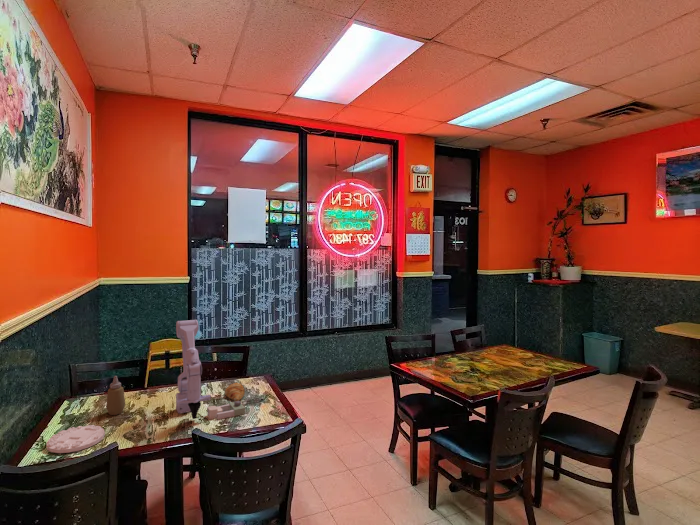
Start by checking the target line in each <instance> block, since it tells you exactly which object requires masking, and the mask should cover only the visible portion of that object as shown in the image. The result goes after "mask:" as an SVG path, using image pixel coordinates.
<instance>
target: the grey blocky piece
mask: <svg viewBox="0 0 700 525" xmlns="http://www.w3.org/2000/svg"><path fill="white" fill-rule="evenodd" d="M216 407H221V408H222V410H223V412H220V413H217V418H216V419H217V420H222V419H226V418H231V417H238V416H242V415H246V407H245V406H244V405H243V404H242V401H241V400H239V401H232V402H231V401H230V402H229V403H227V404H223V405H218V406H216Z"/></svg>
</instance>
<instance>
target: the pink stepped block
mask: <svg viewBox="0 0 700 525" xmlns="http://www.w3.org/2000/svg"><path fill="white" fill-rule="evenodd" d="M206 411H207V417H208V418H209V419H208V420H211V419H217V413H220V412H224V411H223V410H222V408H221V407H217V406H216V405H211V406H210V405H209V406H207V410H206Z"/></svg>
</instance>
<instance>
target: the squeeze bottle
mask: <svg viewBox="0 0 700 525" xmlns="http://www.w3.org/2000/svg"><path fill="white" fill-rule="evenodd" d="M125 405H126V398H125V390H124V387H123V386H122V382H120V381H119V379H118V376H117V375H114V376H113V380H112V382H111V383H110V384H109V388H108V390H107V395H106V405H105V406H106V407H105V409H106V410H107V412H108V414H109V415H110V416H116V415H120V414H122V413H123V412H124V410H125Z"/></svg>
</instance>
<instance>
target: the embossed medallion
mask: <svg viewBox="0 0 700 525" xmlns="http://www.w3.org/2000/svg"><path fill="white" fill-rule="evenodd" d="M105 434H106V433H105V429H104V427H102V426H100V425H95V424H89V425H85V426H82V425H79V426H77V427H75V426H72V427H69V428H67V429H66V430H65V429H63V430H60V431H58V432H57V433H56V434H53V435H52V436H51V437H49V439H48V440H47V441H46V450H47V451H48V452H50V453H55V454H65V453H66V454H67V453H74V452H79V451H82V450H85V449H87V448H90V447H93V446H95V445H96V444H98V443H100V442H101V441H102V440H103V439H104V438H105Z"/></svg>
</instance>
